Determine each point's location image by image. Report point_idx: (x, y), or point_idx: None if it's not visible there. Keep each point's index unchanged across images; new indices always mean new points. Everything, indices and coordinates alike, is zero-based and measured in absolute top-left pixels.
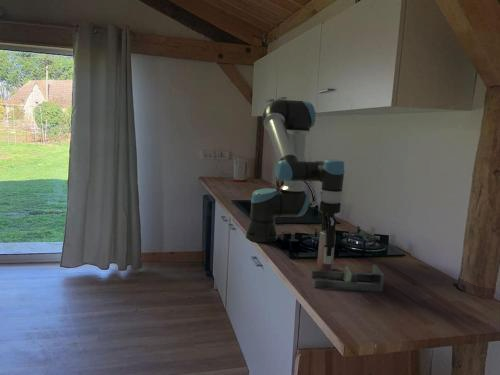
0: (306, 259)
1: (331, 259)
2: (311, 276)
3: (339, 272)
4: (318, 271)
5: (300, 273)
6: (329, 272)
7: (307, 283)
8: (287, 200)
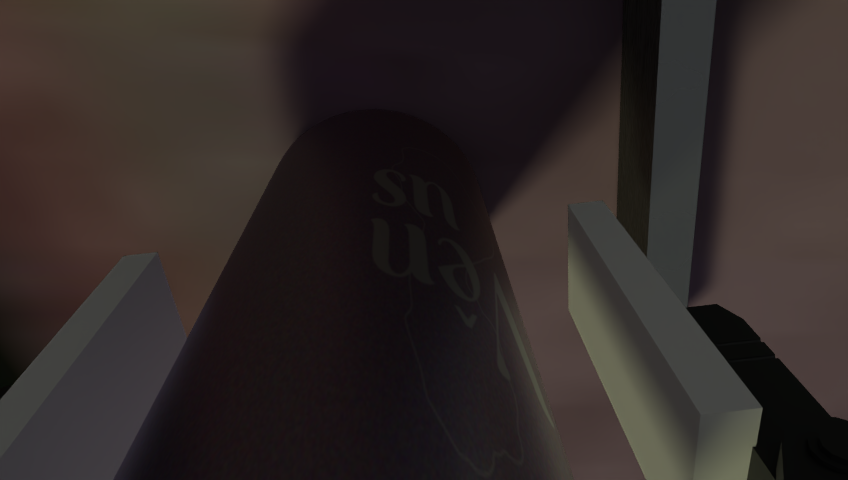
0: None
1: (629, 241)
2: None
3: (694, 42)
4: None
5: None
6: (695, 190)
7: (801, 370)
8: None
